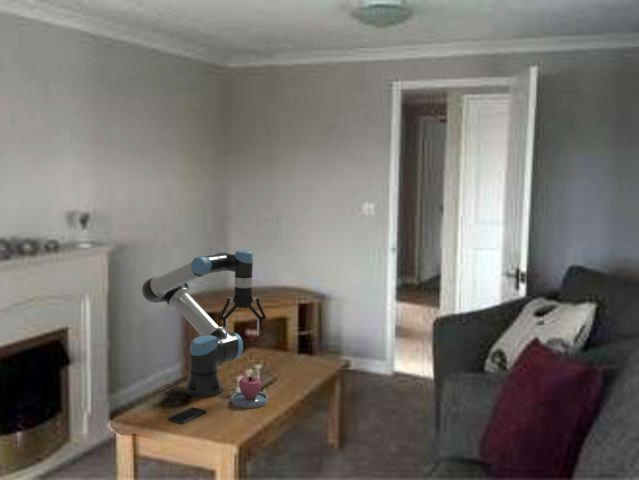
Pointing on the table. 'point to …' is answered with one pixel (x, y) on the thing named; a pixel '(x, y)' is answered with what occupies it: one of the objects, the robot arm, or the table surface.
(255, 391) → the apple
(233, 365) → the table surface
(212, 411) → the table surface
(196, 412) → the phone
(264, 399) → the dish
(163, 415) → the table surface
